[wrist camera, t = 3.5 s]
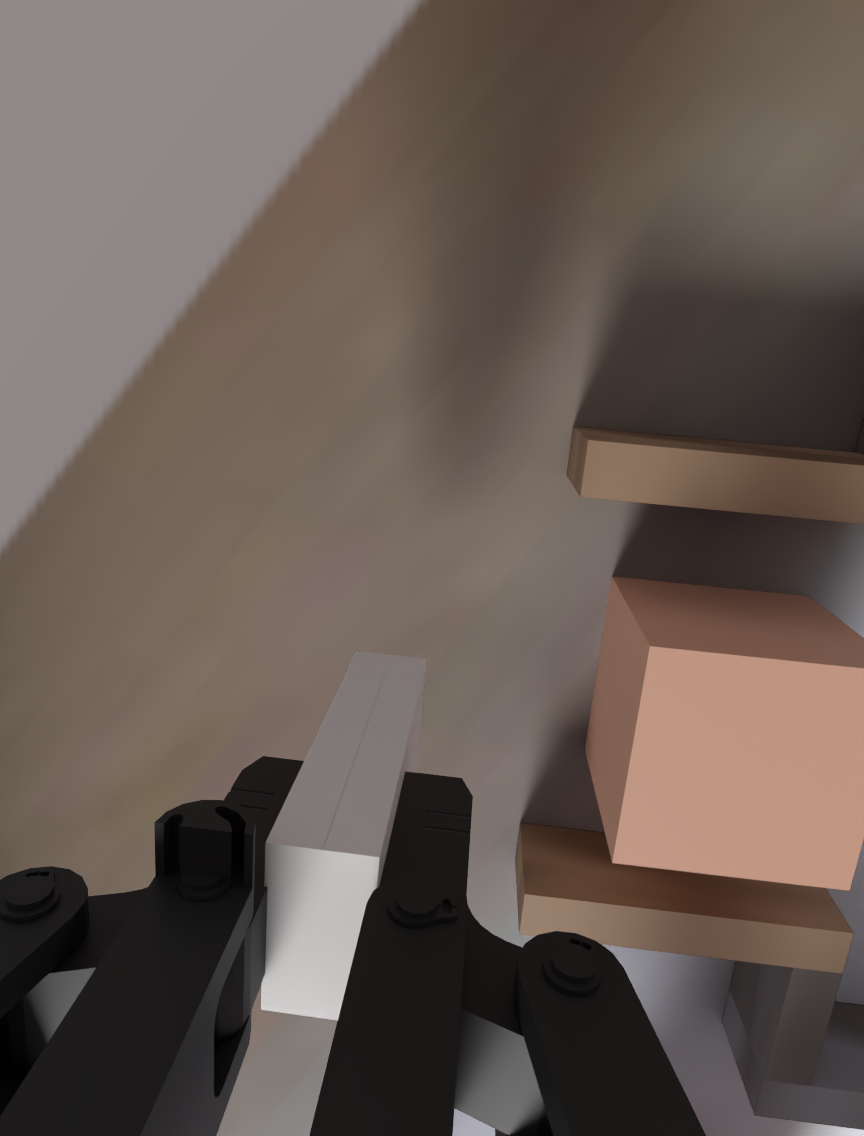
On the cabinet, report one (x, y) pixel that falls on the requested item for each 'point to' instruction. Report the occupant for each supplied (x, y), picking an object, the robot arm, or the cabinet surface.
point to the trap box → (702, 901)
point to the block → (729, 734)
